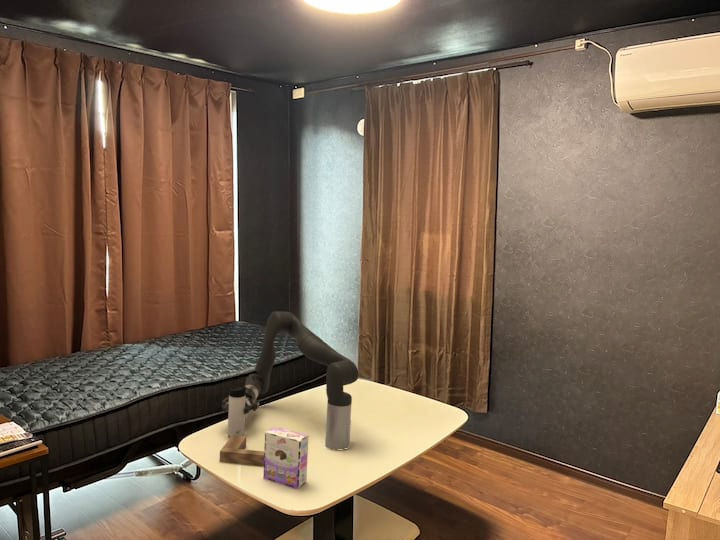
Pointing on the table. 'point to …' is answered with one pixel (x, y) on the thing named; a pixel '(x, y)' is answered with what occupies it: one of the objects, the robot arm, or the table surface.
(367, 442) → the table surface
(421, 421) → the table surface
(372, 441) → the table surface
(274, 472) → the candy box
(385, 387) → the table surface
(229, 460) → the wooden u-shaped block
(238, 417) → the travel mug
